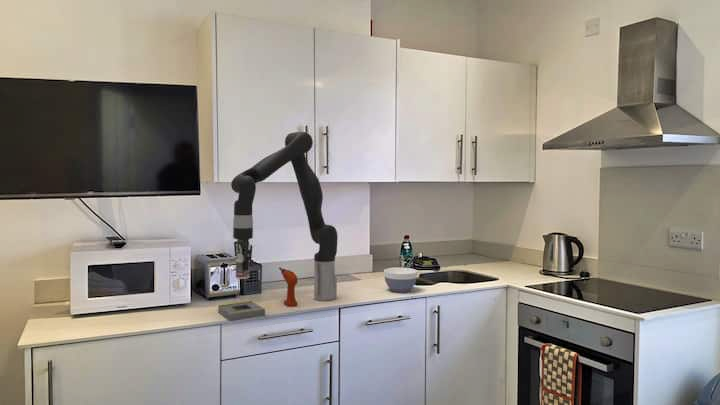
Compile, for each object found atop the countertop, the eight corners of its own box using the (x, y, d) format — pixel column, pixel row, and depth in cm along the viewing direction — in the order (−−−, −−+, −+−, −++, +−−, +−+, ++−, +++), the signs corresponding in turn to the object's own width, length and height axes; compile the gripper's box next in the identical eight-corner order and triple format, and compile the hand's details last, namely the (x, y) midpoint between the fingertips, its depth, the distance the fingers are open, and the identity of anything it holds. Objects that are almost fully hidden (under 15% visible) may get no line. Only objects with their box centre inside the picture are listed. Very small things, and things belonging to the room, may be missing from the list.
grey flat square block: (251, 307, 211) (251, 300, 210) (264, 315, 199) (264, 308, 199) (218, 312, 203) (218, 305, 203) (230, 320, 191) (230, 313, 191)
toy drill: (283, 293, 230) (285, 261, 227) (299, 308, 213) (300, 273, 211) (273, 294, 227) (274, 262, 225) (288, 309, 211) (289, 275, 209)
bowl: (422, 289, 246) (423, 269, 245) (407, 295, 232) (407, 275, 232) (394, 285, 254) (394, 266, 254) (377, 291, 241) (377, 271, 241)
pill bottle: (246, 279, 197) (246, 254, 196) (233, 278, 198) (233, 254, 197) (251, 276, 202) (251, 252, 202) (238, 276, 203) (239, 252, 202)
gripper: (259, 227, 195) (258, 271, 196) (245, 224, 207) (245, 265, 208) (240, 228, 191) (240, 273, 192) (227, 225, 203) (227, 267, 204)
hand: (242, 269), depth 200 cm, fingers closed on pill bottle, 5 cm apart
